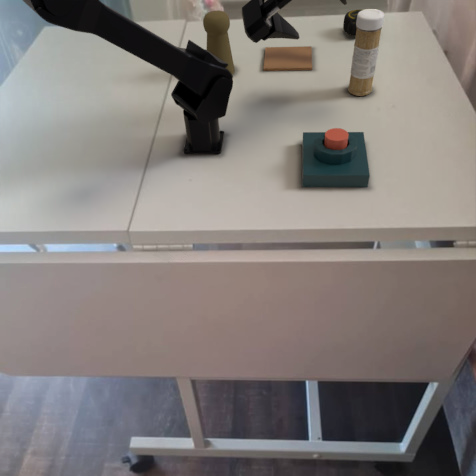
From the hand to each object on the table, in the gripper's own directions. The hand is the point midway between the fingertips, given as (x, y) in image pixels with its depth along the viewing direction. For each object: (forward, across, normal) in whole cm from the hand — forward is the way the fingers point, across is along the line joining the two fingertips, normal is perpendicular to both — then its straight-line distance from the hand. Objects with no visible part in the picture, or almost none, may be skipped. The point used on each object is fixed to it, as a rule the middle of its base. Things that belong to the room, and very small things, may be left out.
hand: (321, 19), depth 81 cm
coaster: (+14, +14, -10) cm, 22 cm away
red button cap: (-1, +2, +24) cm, 24 cm away
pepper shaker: (+4, +25, -8) cm, 27 cm away
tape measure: (+28, +3, -18) cm, 34 cm away
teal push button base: (+1, +4, +25) cm, 25 cm away
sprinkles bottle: (+16, +2, +5) cm, 16 cm away
